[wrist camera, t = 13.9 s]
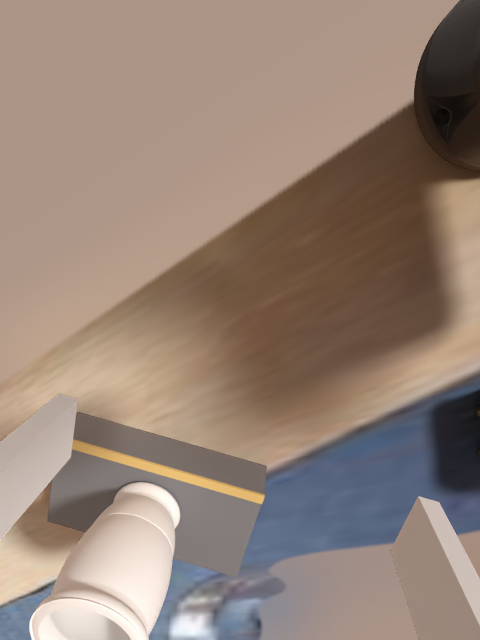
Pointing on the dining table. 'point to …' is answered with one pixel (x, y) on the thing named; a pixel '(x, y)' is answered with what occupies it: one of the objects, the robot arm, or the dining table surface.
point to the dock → (170, 474)
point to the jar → (114, 572)
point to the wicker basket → (479, 412)
